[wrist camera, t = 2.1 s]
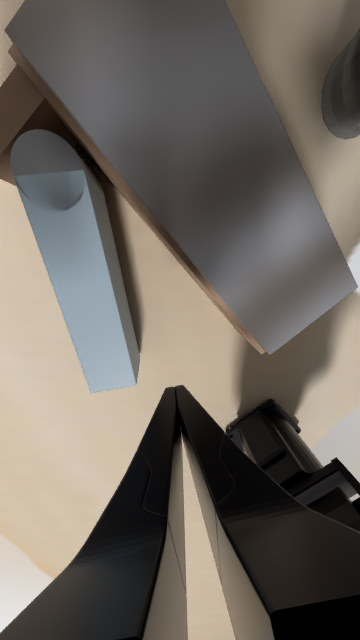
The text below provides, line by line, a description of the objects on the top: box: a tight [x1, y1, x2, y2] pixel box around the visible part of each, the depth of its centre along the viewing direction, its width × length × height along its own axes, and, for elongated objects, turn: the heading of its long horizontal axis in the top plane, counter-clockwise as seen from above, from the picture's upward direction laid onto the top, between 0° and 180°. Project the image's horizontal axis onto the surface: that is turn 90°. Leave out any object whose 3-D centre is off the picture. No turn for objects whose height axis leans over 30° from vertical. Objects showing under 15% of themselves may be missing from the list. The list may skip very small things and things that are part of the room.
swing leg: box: [10, 129, 140, 393], centre depth 12 cm, size 14×3×4 cm, turn 7°
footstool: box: [0, 0, 358, 355], centre depth 11 cm, size 18×11×5 cm, turn 42°
